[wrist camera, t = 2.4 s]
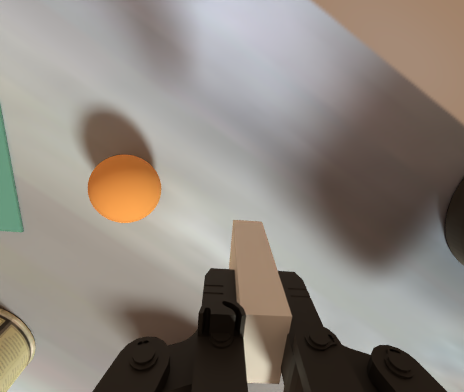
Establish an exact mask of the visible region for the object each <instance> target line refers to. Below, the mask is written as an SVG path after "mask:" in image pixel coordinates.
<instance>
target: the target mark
mask: <svg viewBox="0 0 464 392" xmlns="http://www.w3.org/2000/svg"><path fill="white" fill-rule="evenodd" d="M0 231H11V232H23V225H22V220H21V214H20V209H19V204H18V198H17V193H16V187H15V182H14V177H13V171H12V166H11V160H10V155H9V150H8V144H7V139H6V133H5V128H4V123H3V117H2V112H1V106H0Z"/></svg>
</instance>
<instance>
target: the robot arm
mask: <svg viewBox="0 0 464 392" xmlns="http://www.w3.org/2000/svg"><path fill="white" fill-rule="evenodd" d="M445 230H446V238H447V242H448V245H449V248H450V250H451V252H452V253H453V255H454V256H455V258H456V259H457V260H458V261H459V262H460V263H461V264H462V265H464V179H463V180H462V182H461V183H460V185H459V186H458V188H457V190H456V191H455V193H454V195H453V197H452V200H451V202H450V205H449V208H448V212H447V217H446V225H445ZM281 372H282V377H283V381H284V391H283V392H447V391H446V390H445V389H444V388H443V387H442V386H441V385H440V384H439V383H438V382H437V381H436V380H435V379H434V378H433V377H432V376H431V375H430V374H429V373H428V372H427V371H426V370H425V369H424V368H423V367H422V366H421V365H420V364H419V363H418V362H417V361H416V360H415V359H414V358H412V357H411V356H410V355H409V354H407V353H406V352H404V351H402V350H400V349H398V348H396V347H392V346H389V345H379V346H377V347H375V348H374V349H373V351H372V353H371V355H369V354H366V353H363V352H360V351H356V350H353V349H350V348H348V347H345V346H343V345H341V343H340V341H339V340H338V338H337V337H336V335H335V334H333V333H332V332H331V331H330V330H329V329H327V328H325V327H323V324H322V322H321V320H320V318H319V316H318V313H317V311H316V309H315V307H314V304H313V302H312V300H311V298H310V295H309V293H308V291H307V289H306V286H305V284H304V282H303V280H302V279H301V278H300V277H299V276H298V275H297V274H296V273H295V272H285V271H277V267H276V264H275V261H274V258H273V255H272V252H271V249H270V245H269V242H268V239H267V236H266V233H265V230H264V227H263V223H262V222H258V221H243V220H233V230H232V241H231V252H230V262H229V269H214V268H211V269H210V270H209V271H208V273H207V274H206V275H205V281H204V290H203V299H202V307H201V309H200V311H199V317H198V329H197V331H196V333H195V334H194V335H193V336H192V337H190V338H189V339H187V340H185V341H183V342H180V343H177V344H173V345H169V346H167V344H166V343H165V342H164V341H163V340H161V339H159V338H156V337H143V338H139V339H136V340H134V341H133V342H131V343H129V344H128V345H127V346H126V347H125V348H124V349H123V350H122V351H121V352H120V353H119V355H118V356H117V358H116V359H115V360H114V362H113V363H112V365H111V366H110V368H109V369H108V370H107V372H106V373H105V375H104V376H103V377H102V379H101V380H100V382H99V383H98V385H97V386H96V387H95V389H94V390H93V392H248V386H247V383H272V384H279V382H280V376H281Z"/></svg>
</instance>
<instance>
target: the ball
mask: <svg viewBox="0 0 464 392" xmlns="http://www.w3.org/2000/svg"><path fill="white" fill-rule="evenodd" d="M88 195H89V199H90V201H91V203H92V205H93V207H94V208H95V209H96V210H97V211H98V212H99V213H100V214H101V215H102V216H104V217H105V218H107V219H109V220H112V221H115V222H121V223H129V222H134V221H138V220H140V219H142V218H144V217H146V216H147V215H149V214H150V213H151V212H152V211H153V210H154V208H155V207H156V205H157V204H158V202H159V199H160V195H161V183H160V179H159V176H158V174H157V172H156V171H155V169H154V168H153V167H152V166H151V165H150V164H149V163H148V162H146V161H145V160H143V159H141V158H139V157H136V156H133V155H116V156H112V157H109V158H107V159H105V160H104V161H102V162H101V163H99V164H98V165H97V166H96V168H95V169H94V170H93V172H92V173H91V176H90V178H89V182H88Z"/></svg>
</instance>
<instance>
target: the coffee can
mask: <svg viewBox="0 0 464 392" xmlns="http://www.w3.org/2000/svg"><path fill="white" fill-rule="evenodd" d="M34 353H35V341H34V338H33V336H32V334H31V332H30V330H29V329H28V328H27V327H26V325H25V324H24V323H23V322H22V321H21V320H20V319H19V318H17V317H16V316H14V315H13V314H11V313H10V312H8V311H6V310H4V309H1V308H0V392H7V391H8V389H9V388H10V387H11V385H12V384H13V383H14V381H15V380H16V379H17V377H18V376H19V375H20V373H21V372H22V371H23V370H24V368H25V367H26V366H27V365H28V364H29V363H30V362H31V360H32V359H33V357H34Z"/></svg>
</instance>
